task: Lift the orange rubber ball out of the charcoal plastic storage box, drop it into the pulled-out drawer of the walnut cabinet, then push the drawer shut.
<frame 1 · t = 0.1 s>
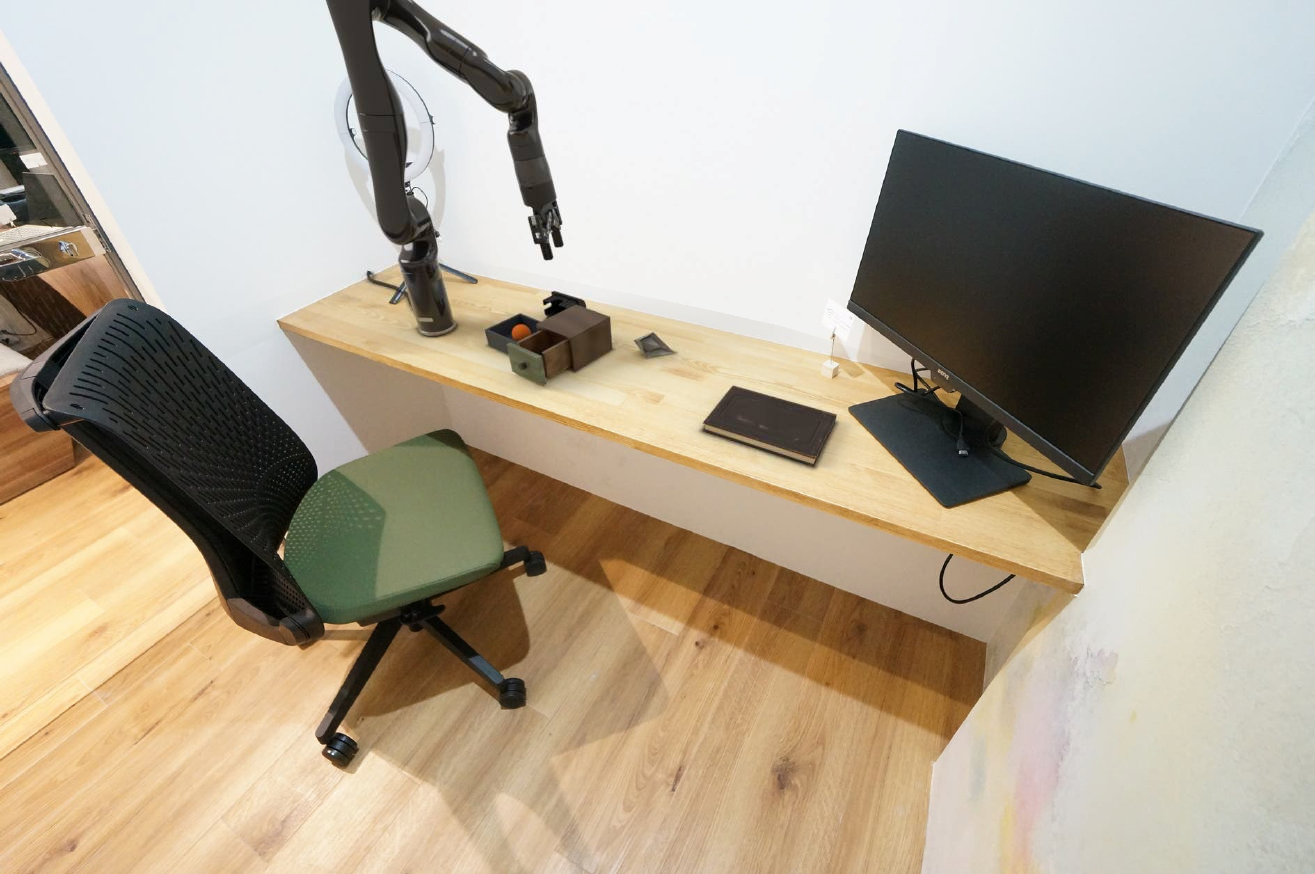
hand: (554, 253, 126), 22 cm above the table, tool pointing down, fingers open, 8 cm apart
box: (523, 344, 137), on the table
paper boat: (651, 357, 132), on the table
cabinet: (577, 353, 133), on the table
ball: (521, 334, 135), point 3 cm above the table, touching box
drawer: (542, 355, 124), point 5 cm above the table, slide at 8.5 cm
end cap: (566, 319, 148), on the table
hardcover book: (769, 427, 109), on the table
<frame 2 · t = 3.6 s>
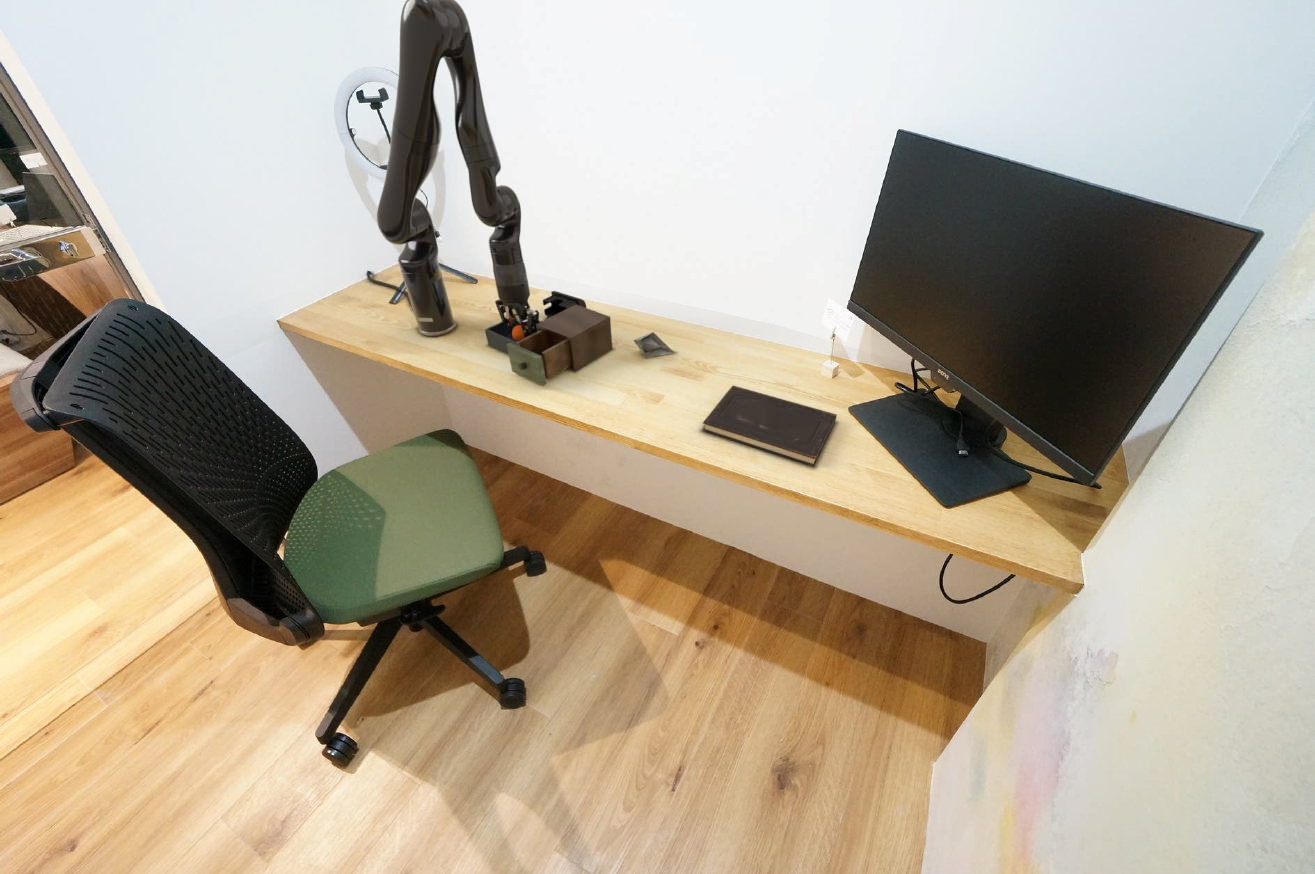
hand: (523, 342, 137), 1 cm above the table, tool pointing down, fingers closed on ball, 4 cm apart
ball: (521, 334, 135), point 3 cm above the table, touching gripper
everything else where it was.
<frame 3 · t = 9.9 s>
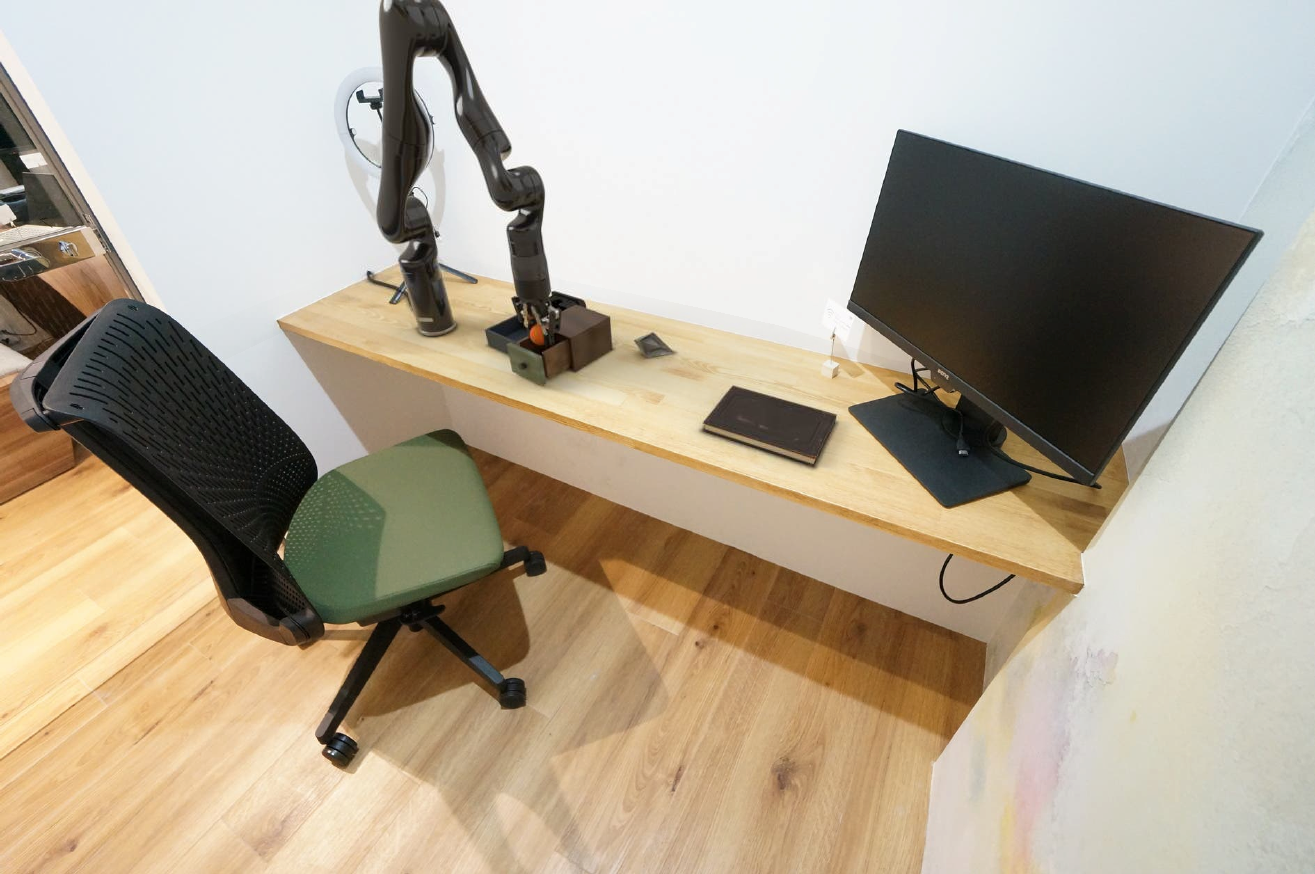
hand: (542, 343, 122), 7 cm above the table, tool pointing down, fingers closed on ball, 4 cm apart
ball: (540, 334, 121), point 10 cm above the table, touching gripper
everything else where it was.
when the fingers open (9 cm above the table, at t = 22.2 s): ball drops 7 cm, resting on drawer.
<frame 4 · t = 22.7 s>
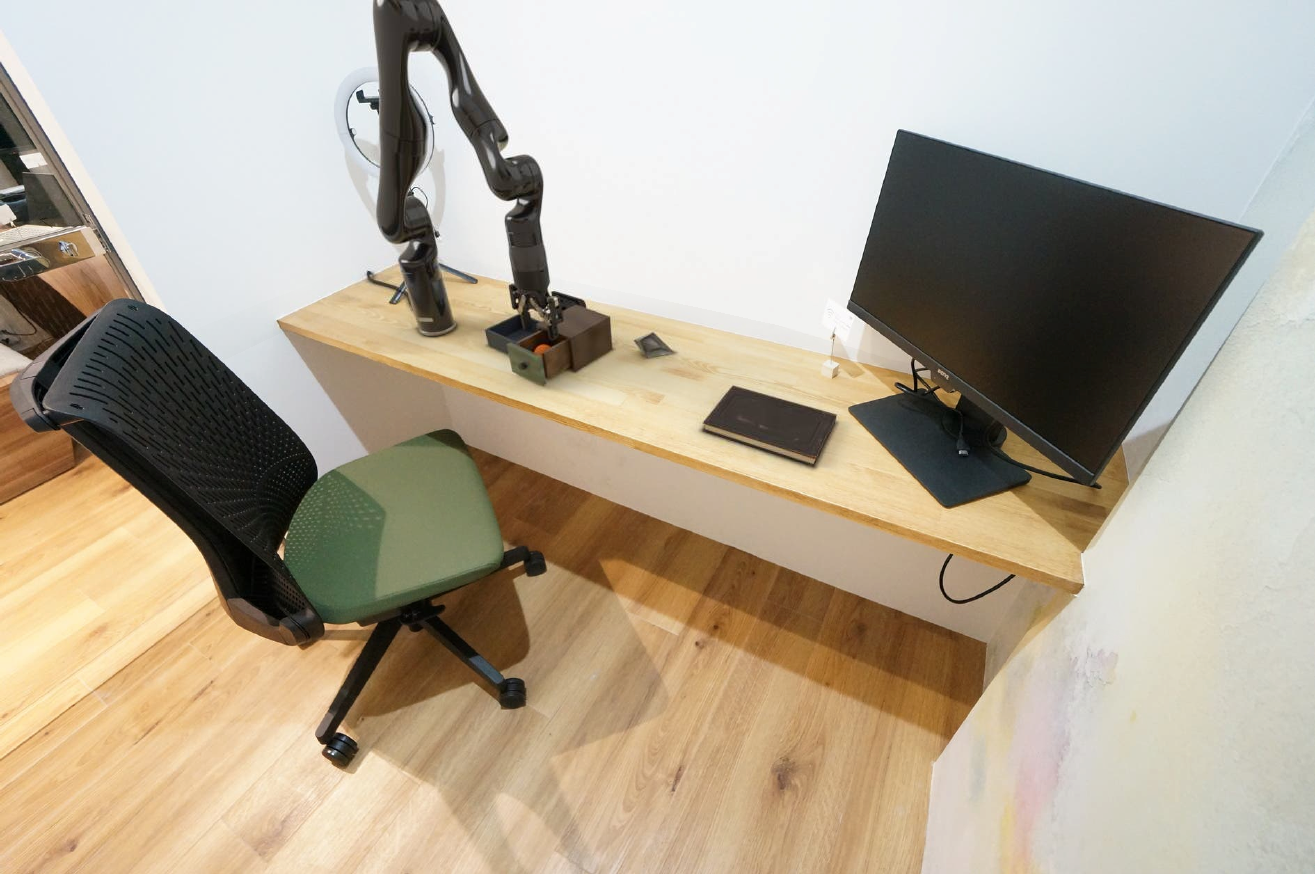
hand: (540, 333, 121), 10 cm above the table, tool pointing down, fingers open, 8 cm apart
ball: (544, 355, 124), point 4 cm above the table, touching drawer
drawer: (542, 355, 124), point 5 cm above the table, slide at 8.5 cm, touching ball
everything else where it was.
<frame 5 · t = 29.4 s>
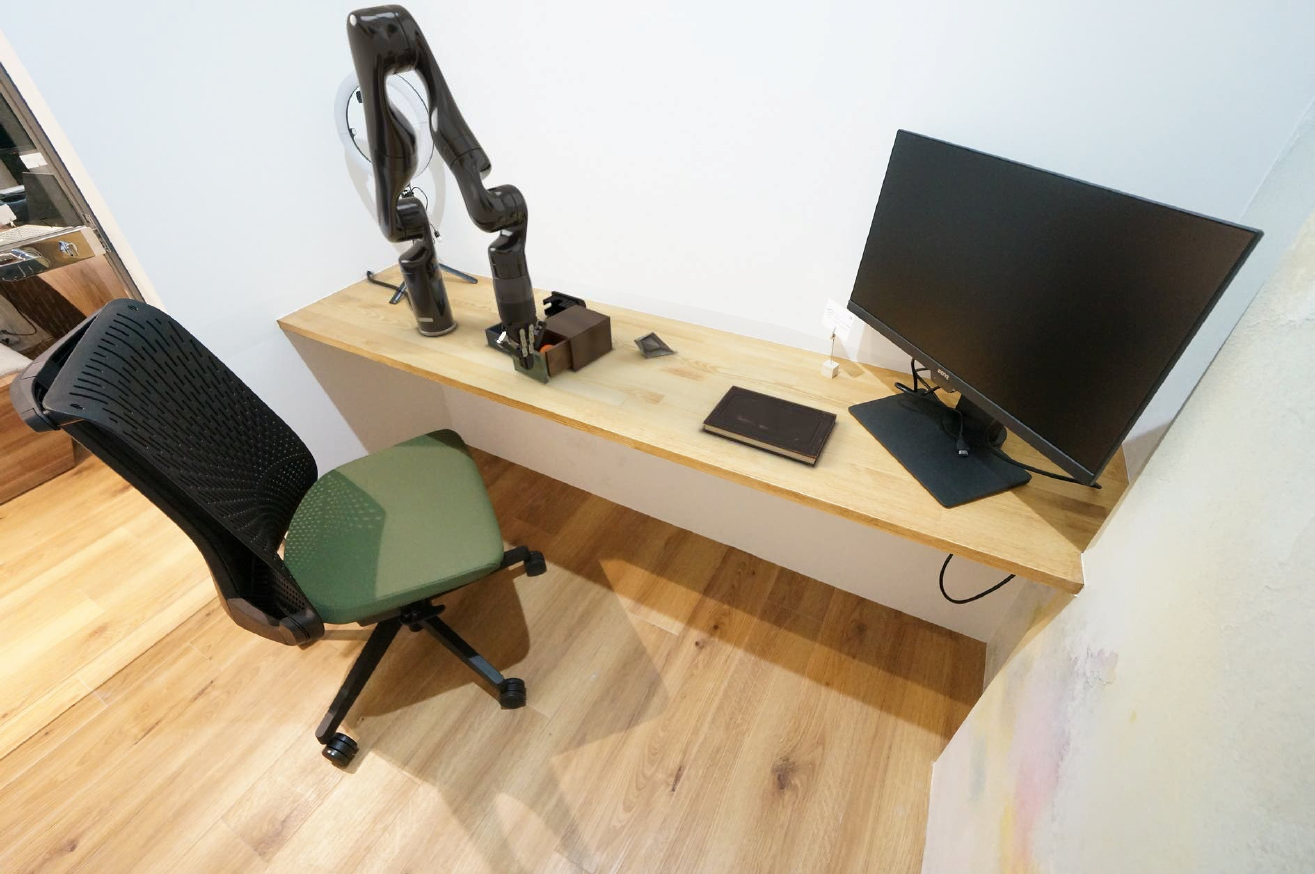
hand: (528, 368, 117), 5 cm above the table, tool pointing down, fingers closed
ball: (549, 355, 124), point 4 cm above the table, tilted 29°, touching drawer
drawer: (545, 353, 124), point 5 cm above the table, slide at 7.7 cm, touching ball, gripper
everything else where it was.
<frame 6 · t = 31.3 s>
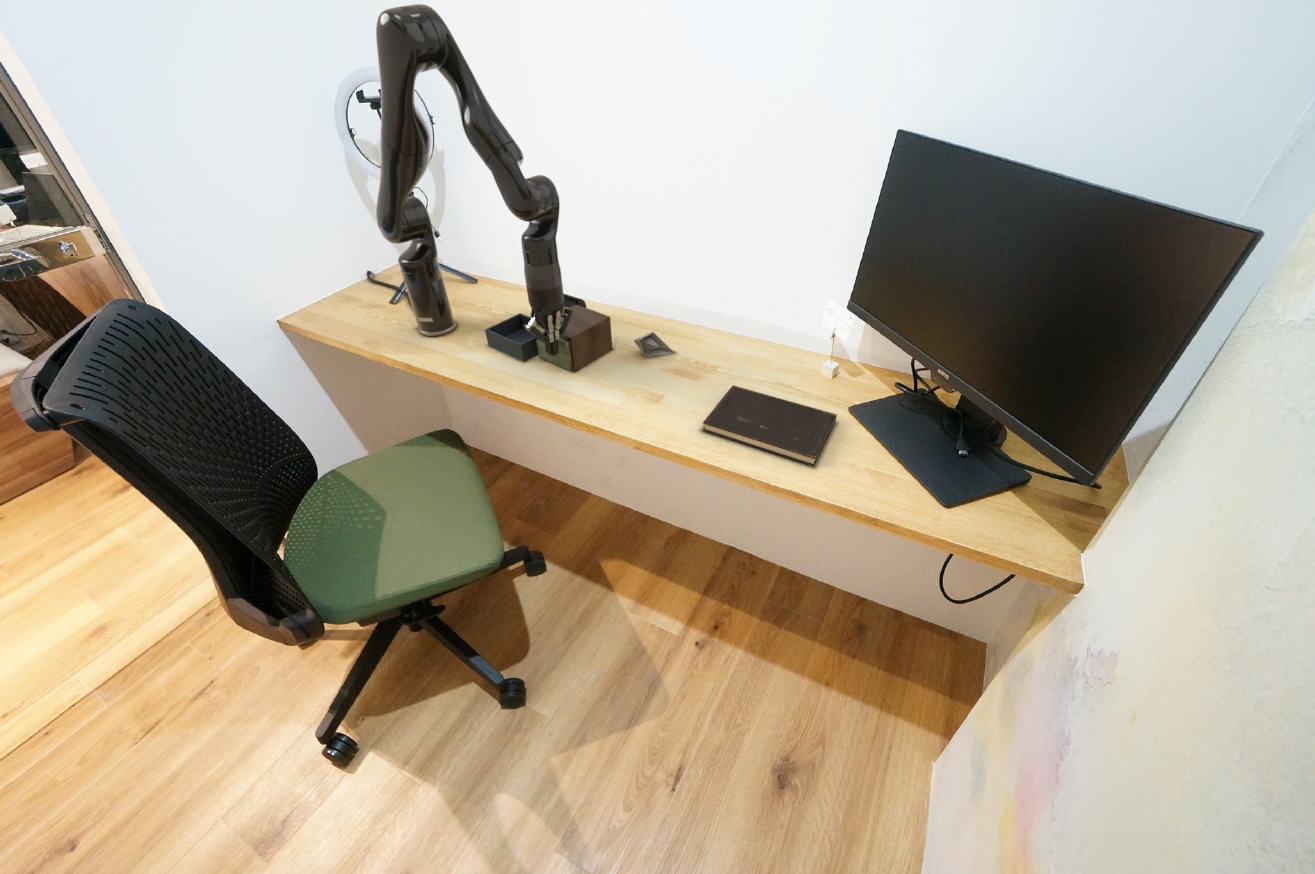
hand: (553, 354, 122), 6 cm above the table, tool pointing down, fingers closed
ball: (573, 342, 129), point 4 cm above the table, tilted 31°, touching drawer
drawer: (568, 340, 129), point 5 cm above the table, slide at 0.0 cm, touching ball, cabinet, gripper
everything else where it was.
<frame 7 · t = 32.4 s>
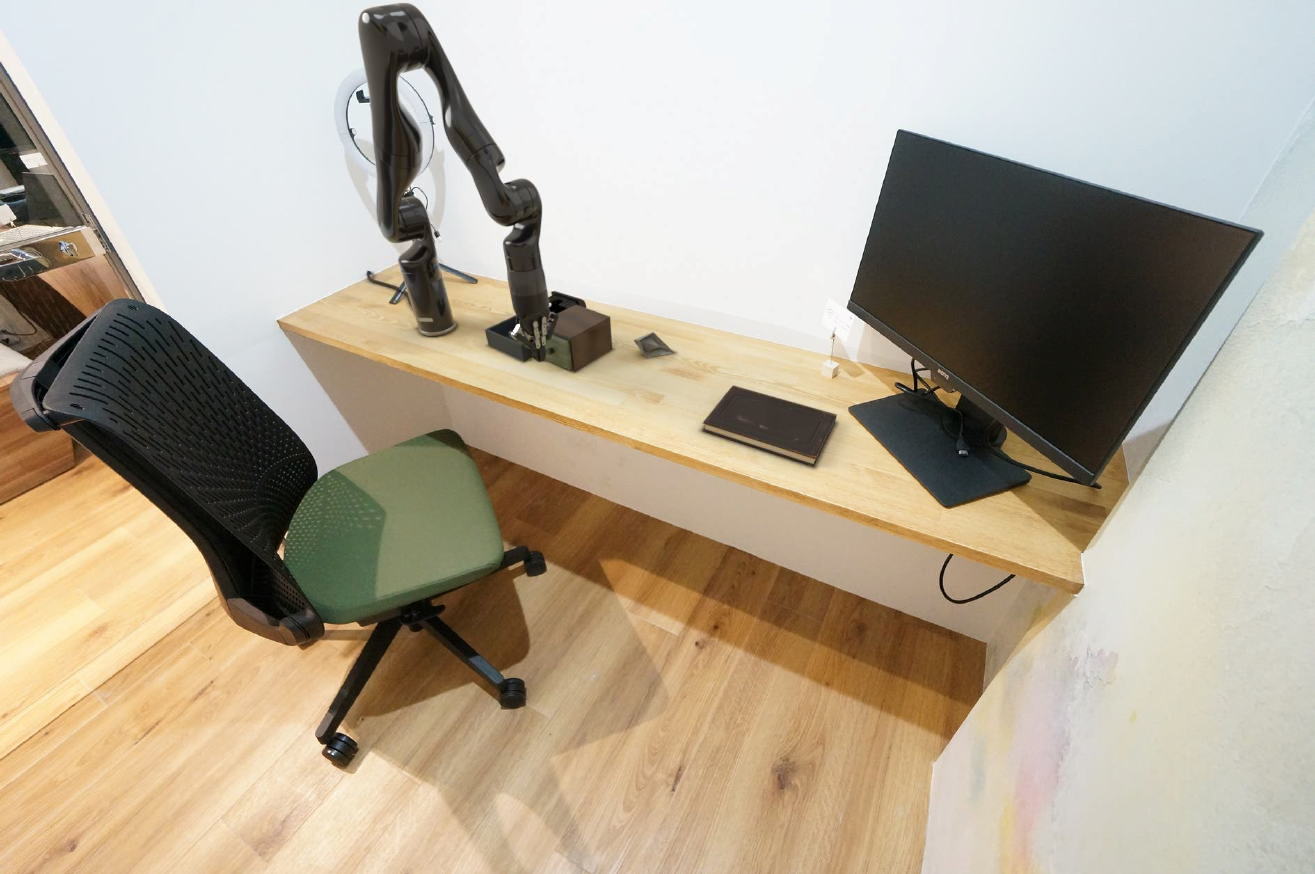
hand: (540, 360, 120), 6 cm above the table, tool pointing down, fingers closed
ball: (581, 338, 130), point 4 cm above the table, tilted 70°, touching drawer
drawer: (568, 340, 129), point 5 cm above the table, slide at 0.0 cm, touching ball, cabinet
everything else where it was.
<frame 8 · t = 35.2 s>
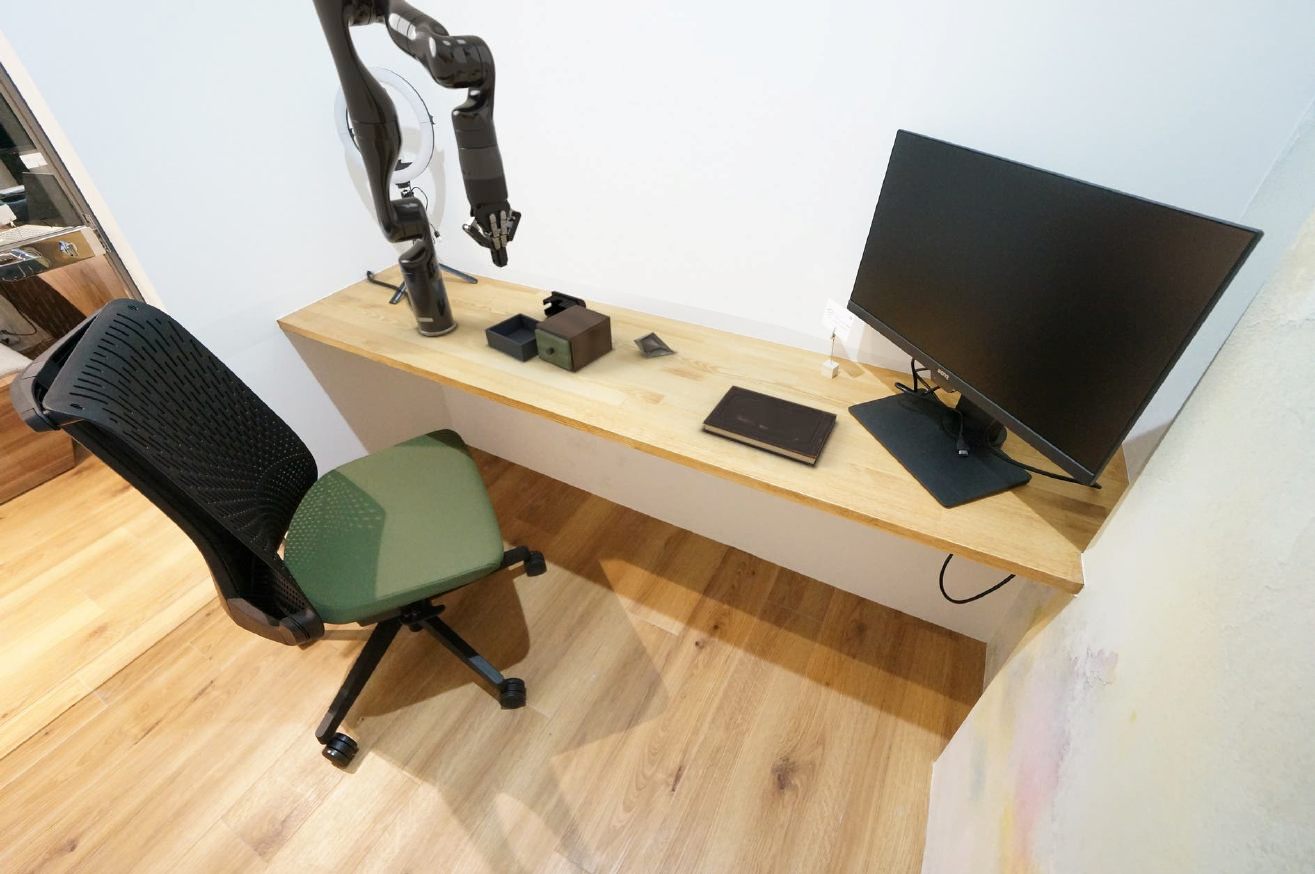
hand: (501, 265, 107), 27 cm above the table, tool pointing down, fingers closed
ball: (570, 343, 128), point 4 cm above the table, tilted 37°, touching drawer
everything else where it was.
at the end: ball inside the target area in the cabinet (3.3 cm from its centre), point 4.4 cm above the cabinet's base; drawer slide at 0.0 cm; the gripper is holding nothing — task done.
